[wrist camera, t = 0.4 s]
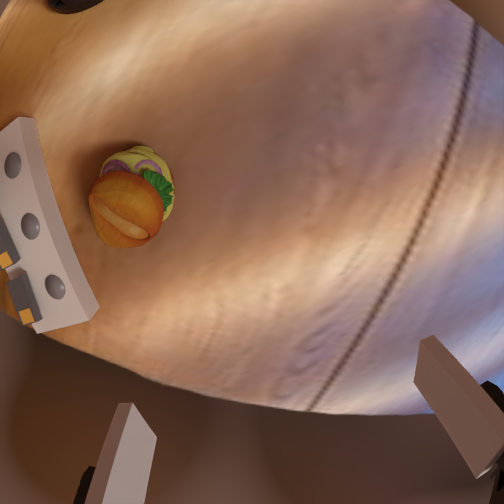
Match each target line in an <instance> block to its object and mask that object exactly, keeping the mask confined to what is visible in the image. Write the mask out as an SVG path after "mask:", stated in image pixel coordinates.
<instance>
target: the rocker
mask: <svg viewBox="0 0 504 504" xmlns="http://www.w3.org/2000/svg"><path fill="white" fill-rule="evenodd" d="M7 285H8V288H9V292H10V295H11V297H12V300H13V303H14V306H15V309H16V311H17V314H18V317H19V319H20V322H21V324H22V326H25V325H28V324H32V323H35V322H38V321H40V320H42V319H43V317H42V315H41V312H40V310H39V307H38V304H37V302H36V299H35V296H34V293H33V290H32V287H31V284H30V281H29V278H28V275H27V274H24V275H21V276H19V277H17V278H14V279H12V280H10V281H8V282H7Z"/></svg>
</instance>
